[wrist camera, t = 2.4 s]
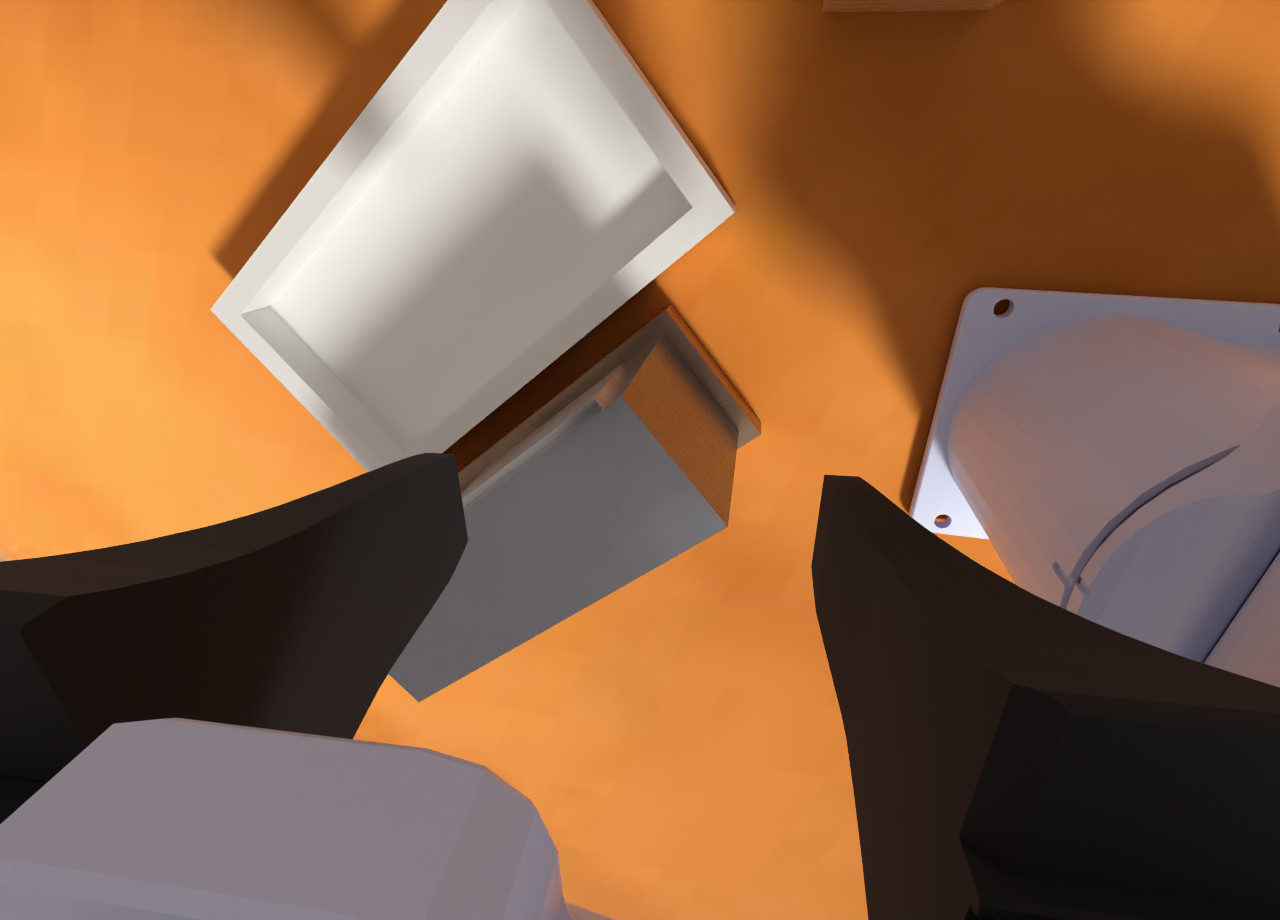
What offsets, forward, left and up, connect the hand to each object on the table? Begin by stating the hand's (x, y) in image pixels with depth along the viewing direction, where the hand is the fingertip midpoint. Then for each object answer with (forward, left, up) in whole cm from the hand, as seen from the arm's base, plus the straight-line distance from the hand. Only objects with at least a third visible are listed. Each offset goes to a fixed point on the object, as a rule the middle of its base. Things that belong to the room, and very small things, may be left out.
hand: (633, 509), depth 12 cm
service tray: (+8, -3, -9) cm, 12 cm away
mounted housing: (+4, +4, -9) cm, 11 cm away
